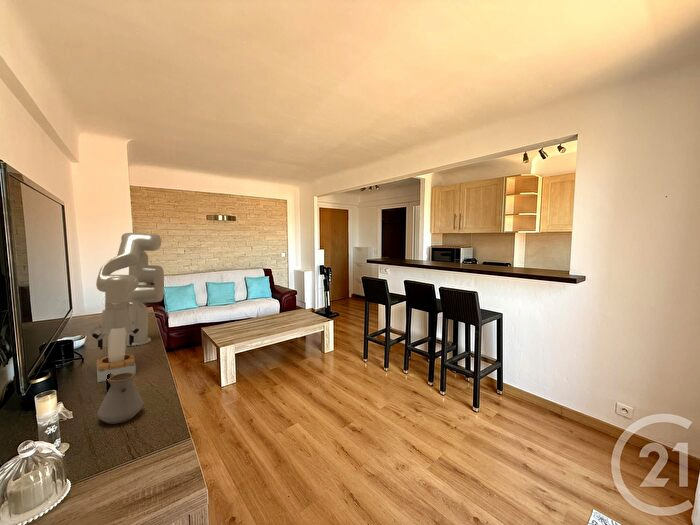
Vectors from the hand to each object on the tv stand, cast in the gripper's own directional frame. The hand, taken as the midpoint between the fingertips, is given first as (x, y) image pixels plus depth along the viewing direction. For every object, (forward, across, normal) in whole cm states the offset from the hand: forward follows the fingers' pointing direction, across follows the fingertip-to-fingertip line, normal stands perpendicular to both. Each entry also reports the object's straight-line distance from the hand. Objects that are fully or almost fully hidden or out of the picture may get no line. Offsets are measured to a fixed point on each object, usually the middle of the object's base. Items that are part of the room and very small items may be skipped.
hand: (116, 346), depth 122 cm
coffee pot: (+11, +1, +46) cm, 47 cm away
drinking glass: (+7, 0, 0) cm, 7 cm away
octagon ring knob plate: (+11, 0, 0) cm, 11 cm away
